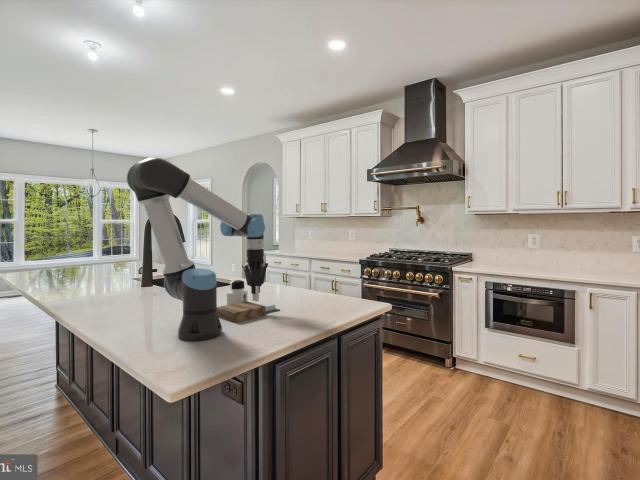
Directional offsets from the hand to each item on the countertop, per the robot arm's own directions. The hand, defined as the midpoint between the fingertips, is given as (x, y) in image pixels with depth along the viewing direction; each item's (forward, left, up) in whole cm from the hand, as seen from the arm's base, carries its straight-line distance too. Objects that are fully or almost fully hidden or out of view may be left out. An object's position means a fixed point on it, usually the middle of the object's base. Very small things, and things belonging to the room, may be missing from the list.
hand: (255, 300), depth 162 cm
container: (-1, +14, -6) cm, 15 cm away
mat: (+5, 0, -5) cm, 7 cm away
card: (+5, 0, -5) cm, 7 cm away
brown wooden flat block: (-8, 0, -5) cm, 10 cm away
